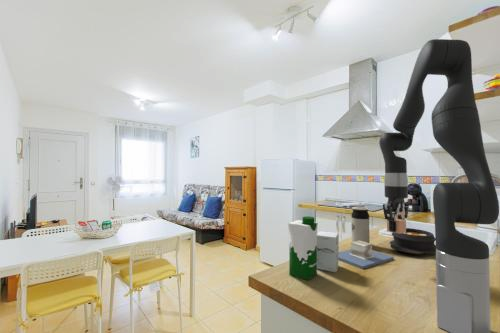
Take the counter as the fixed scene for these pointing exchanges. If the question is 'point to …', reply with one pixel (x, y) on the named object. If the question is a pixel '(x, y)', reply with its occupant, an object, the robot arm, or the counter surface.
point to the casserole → (414, 241)
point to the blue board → (362, 262)
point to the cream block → (361, 249)
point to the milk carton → (303, 248)
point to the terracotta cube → (398, 226)
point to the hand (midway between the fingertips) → (396, 230)
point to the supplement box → (327, 251)
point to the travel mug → (360, 224)
